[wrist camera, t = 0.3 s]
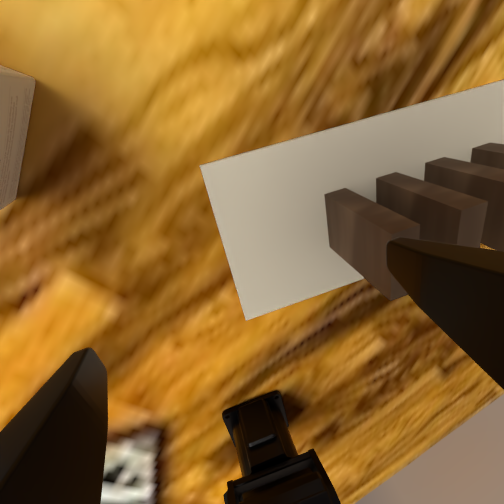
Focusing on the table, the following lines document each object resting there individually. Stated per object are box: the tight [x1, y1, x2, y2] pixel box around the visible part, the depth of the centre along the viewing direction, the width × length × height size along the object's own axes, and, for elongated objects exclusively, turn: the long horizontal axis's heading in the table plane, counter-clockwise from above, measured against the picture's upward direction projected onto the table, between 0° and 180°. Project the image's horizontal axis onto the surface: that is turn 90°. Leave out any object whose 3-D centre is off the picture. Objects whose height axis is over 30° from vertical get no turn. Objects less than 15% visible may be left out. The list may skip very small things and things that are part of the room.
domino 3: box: [424, 157, 504, 251], centre depth 23 cm, size 2×5×8 cm, turn 12°
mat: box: [200, 80, 504, 321], centre depth 26 cm, size 14×28×1 cm, turn 103°
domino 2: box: [376, 172, 488, 248], centre depth 22 cm, size 2×5×8 cm, turn 13°
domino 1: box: [324, 188, 420, 301], centre depth 22 cm, size 2×5×8 cm, turn 13°
